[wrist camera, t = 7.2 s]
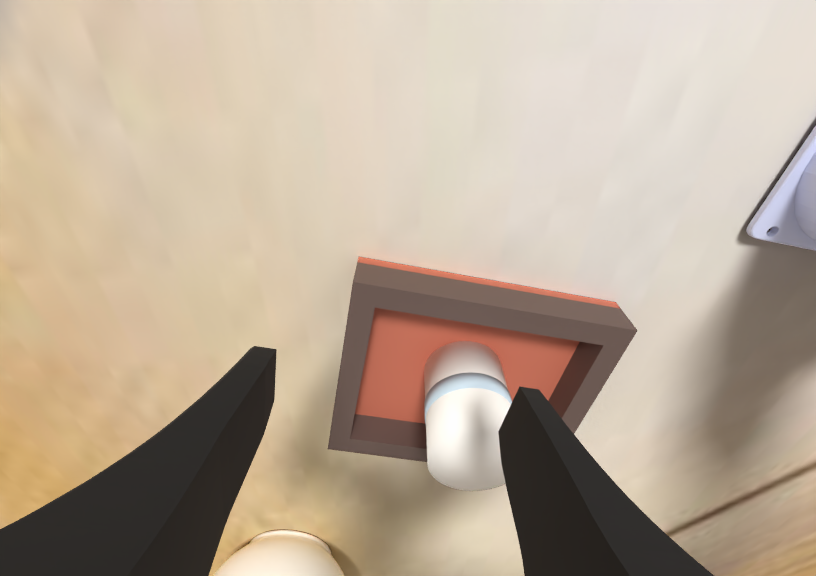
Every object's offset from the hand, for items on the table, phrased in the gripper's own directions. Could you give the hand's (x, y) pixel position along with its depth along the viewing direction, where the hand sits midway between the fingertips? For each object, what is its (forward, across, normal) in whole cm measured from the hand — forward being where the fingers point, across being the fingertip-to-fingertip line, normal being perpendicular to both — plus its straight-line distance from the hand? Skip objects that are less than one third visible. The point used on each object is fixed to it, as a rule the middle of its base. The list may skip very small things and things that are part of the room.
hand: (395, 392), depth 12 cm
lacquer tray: (+10, -5, +7) cm, 13 cm away
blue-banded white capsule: (+9, -5, +7) cm, 13 cm away
